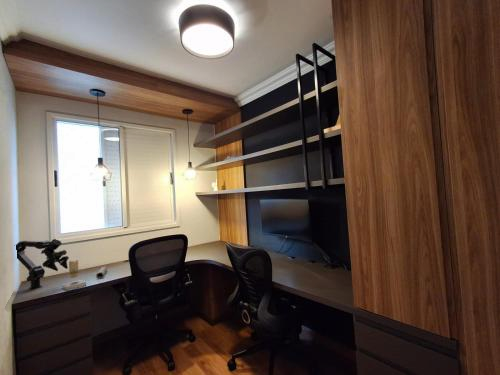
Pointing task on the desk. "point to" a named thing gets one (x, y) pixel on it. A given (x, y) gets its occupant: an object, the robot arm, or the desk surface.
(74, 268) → the cover
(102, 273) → the tube
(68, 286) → the housing
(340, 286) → the desk surface
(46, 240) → the robot arm
